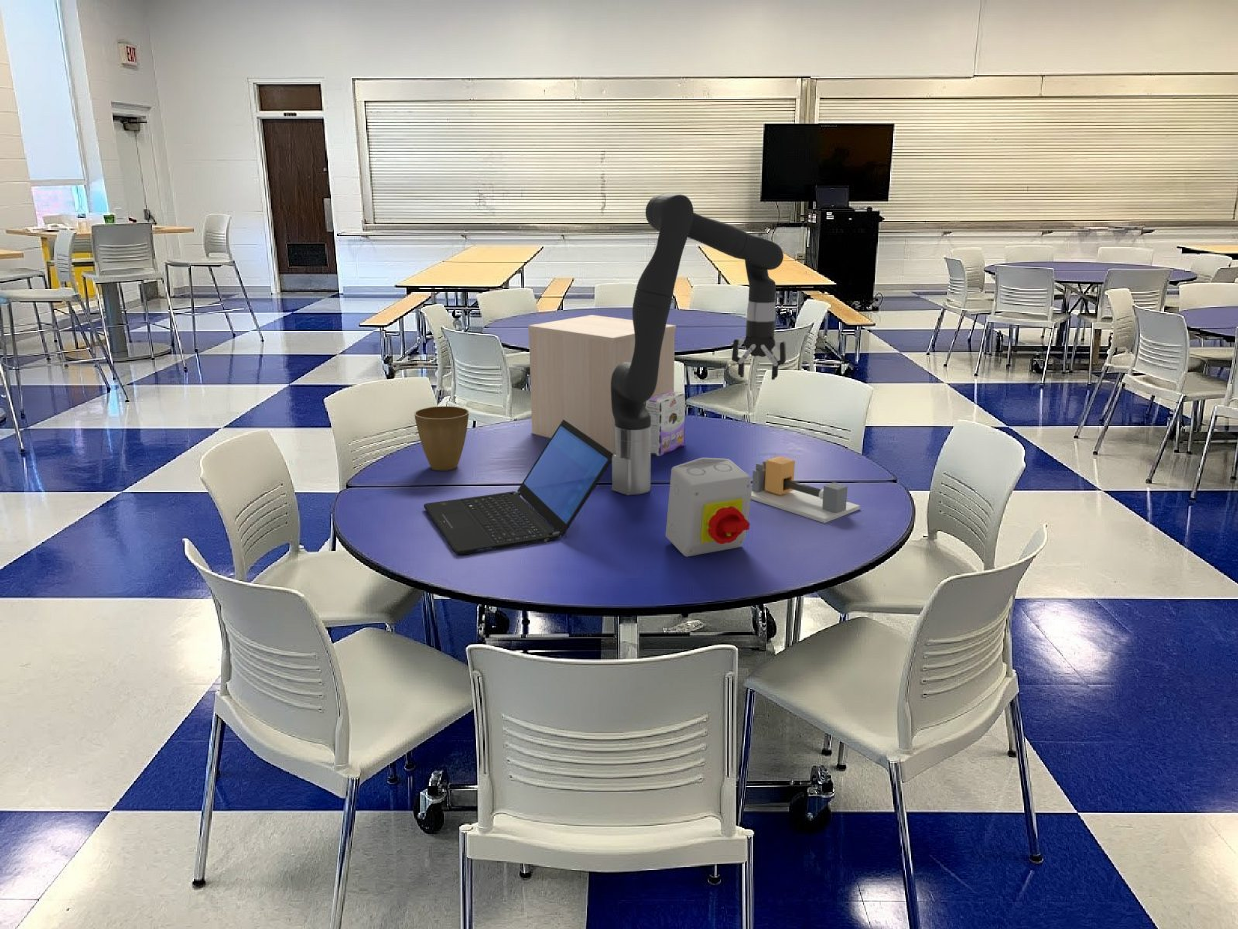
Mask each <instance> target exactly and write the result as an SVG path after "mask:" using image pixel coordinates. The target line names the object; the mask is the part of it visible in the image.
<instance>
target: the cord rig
mask: <svg viewBox="0 0 1238 929" xmlns="http://www.w3.org/2000/svg"><path fill="white" fill-rule="evenodd" d="M765 475H766V460H763V461H762V463H758V462H756V463H755V469H753V470H752V481H751V491H752V493H751V500H752V501H756V502H758V503H762V504H765V505H767V506H770V507H774V508H777V509H780V510H783V511H786V512H789V513H793V514H796V515H799V516H801V517H805V518H807V519H811V520H814V521H817V522H819V523H820V522H821V523H823V524H826V523H828V522H830V521H831V522H832V521H833V520H836V519H839V518H841V517H843V516H844V517H845V516H846V515H849V514H851V513H853V512H856V511H858V510H860V508H861V507H860V506H861V505H860V504H855V503H852V502H848V501H847V497H848V488H849V486H847V485H845V484H840V483H839V482H836V481H835V482H830V483H828V484H825V485H823V488H822V489H821V488H819V487H818V488H817V487H815V486H810V485H807V484H805V483H800V482H797V481H795V480H794V481H791V480H787V479H784V480H783V487H786V488H790V489H793V491H790V492H787V493H784V494H781V495H779V494H776V493H772V492H769V491H766V490H765Z"/></svg>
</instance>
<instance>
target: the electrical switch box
mask: <svg viewBox="0 0 1238 929" xmlns="http://www.w3.org/2000/svg"><path fill="white" fill-rule="evenodd" d="M751 478H752V477H751V476H750V475H749V474H748V473H747V472H746V471H744V470H743V469H741V467H739V465H737V464H736V463H734V462H733V461H732V460H730V459H729V458H718V457H717V458H716V457H700V458H696V459H693V460H690V461H687V462H684V463H680V464H678V465H675V466H672V468H671V472H670V481H669V483H670V484H669V493H668V503H667V515H666V524H665V526H666V527H665V537H666V539H668V540H669V541H670V543H672V545H673V546H674V547H675V548H676V549H677V550H678V551H679V552H680V554H682V555H683V556H684V557H686V558H688V557H693V556H698V555H703V554H710V553H715V552H720V551H725V550H726V551H727V550H731V549H738V548H741V547H742V545H743V543H744V541H745V539H746V536H747V531H748V530H750V525H751V523H750V522H749V515H750V510H751V509H750V507H751V502H752V501H751V500H752V499H751V493H752V480H751Z"/></svg>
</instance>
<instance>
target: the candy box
mask: <svg viewBox="0 0 1238 929" xmlns="http://www.w3.org/2000/svg"><path fill="white" fill-rule="evenodd" d="M645 407H646V409H647V411H648V412H649V414H650V416H651V456H656V457H660V456H663V455H666V454H667V453H670V452H672V451H674V450H677V449H679V448H681V447H683V446H685V445H686V444H685V440H686V439H685V438H686V436H685V435H686V434H685V433H686V432H685V430H686V429H685V427H686V426H685V425H686V422H685V421H686V419H685V418H686V417H685V416H686V393H685V392H681V391H680V392H679V391H675V390H674V391H668V392H666V393H663V394H660V395H657V396H654V397H652V398H650V399H648V400H647V401H646V402H645Z"/></svg>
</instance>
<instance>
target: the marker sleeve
mask: <svg viewBox="0 0 1238 929" xmlns="http://www.w3.org/2000/svg"><path fill="white" fill-rule="evenodd" d="M765 461H766V475H765V490H766V491H769V492H772V493H776V494H779V495H781V494H784V493H787V492H790V491H793V489H790V488H786V487H783V480H784V479H787V480H791V481H794V482H795V466H796V464H795V463H796V461H795V459H791V458H787V457H783V456H780V455H778V456H775V457H772V458H769V459H766V460H765Z"/></svg>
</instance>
